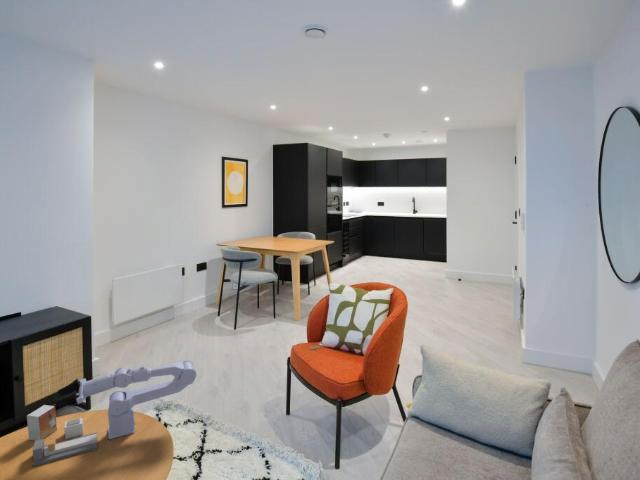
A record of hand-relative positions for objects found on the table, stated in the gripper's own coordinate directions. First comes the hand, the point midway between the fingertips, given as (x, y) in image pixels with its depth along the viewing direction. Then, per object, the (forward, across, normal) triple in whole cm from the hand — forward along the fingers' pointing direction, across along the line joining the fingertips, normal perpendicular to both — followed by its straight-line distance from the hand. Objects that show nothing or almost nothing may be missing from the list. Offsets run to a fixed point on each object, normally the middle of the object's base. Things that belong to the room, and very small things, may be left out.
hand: (57, 398), depth 151 cm
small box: (+11, -9, +19) cm, 23 cm away
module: (-1, -5, +20) cm, 21 cm away
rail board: (+1, +5, +19) cm, 20 cm away
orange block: (+5, +5, +16) cm, 18 cm away
